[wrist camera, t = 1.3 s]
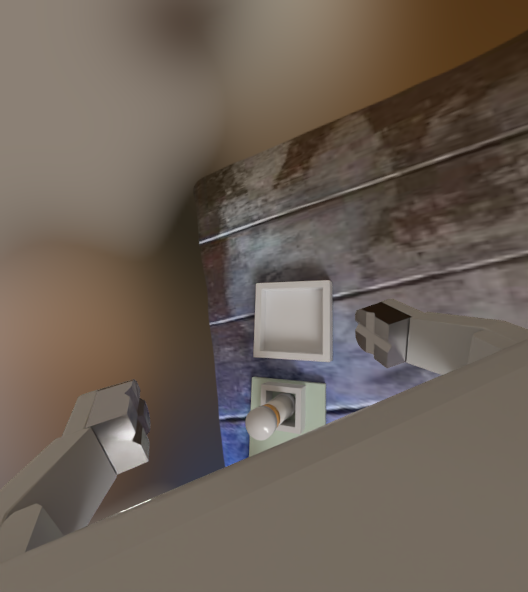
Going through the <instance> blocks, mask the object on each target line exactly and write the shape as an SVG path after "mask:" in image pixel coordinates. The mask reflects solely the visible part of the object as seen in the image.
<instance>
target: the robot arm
mask: <svg viewBox="0 0 528 592" xmlns="http://www.w3.org/2000/svg"><path fill="white" fill-rule="evenodd" d="M355 321H356V322H357V323H358V326H357V328H356V330H355V334H356V340H357V342H358V345H359V346H360V347H361V349H363V350H364V351H365V352H367V353H371V354H373V355H374V359H375V360H377V361H378V362H379V363H381V364H382V365H383V366H385V367H386V368H389V367H392V366H395V365H398V364H400V363H403V362H406V363H409V364H412V365H415V366H418V367H421V368H424V369H427V370H430V371H432V372H435V373H438V374H441V376H439V377H437V378H434V379H432V380H429V381H427V382H425V383H422V384H420V385H418V386H415V387H413V388H411V389H408V390H406V391H403V392H401V393H399V394H396V395H394V396H392V397H389V398H387V399H385V400H382V401H380V402H377V403H375V404H373V405H370V406H368V407H366V408H363V409H361V410H359V411H356V412H354V413H352V414H349V415H347V416H345V417H342V418H340V419H338V420H335V421H333V422H330V423H328V424H326V425H323V426H321V427H319V428H316V429H314V430H312V431H309V432H307V433H305V434H302V435H300V436H298V437H295V438H293V439H291V440H288V441H286V442H284V443H281V444H279V445H277V446H274V447H272V448H270V449H267V450H265V451H263V452H260V453H258V454H255V455H253V456H251V457H248V458H246V459H244V460H241V461H239V462H237V463H234V464H232V465H230V466H227V467H225V468H223V469H220V470H218V471H215V472H213V473H211V474H209V475H206V476H204V477H201V478H199V479H197V480H194V481H192V482H190V483H187V484H185V485H182V486H180V487H178V488H175V489H173V490H171V491H168V492H166V493H164V494H161V495H159V496H157V497H154V498H152V499H150V500H147V501H145V502H142V503H140V504H138V505H135V506H134V507H131V508H129V509H126V510H124V511H121V512H119V513H117V514H114V515H112V516H110V517H107V518H105V519H103V520H100V521H98V522H96V523H93V524H91V525H88V523H89V521H90V519H91V518H92V516H93V515H94V513H95V511H96V510H97V508H98V506H99V505H100V503H101V502H102V500H103V498H104V497H105V495H106V493H107V492H108V490H109V488H110V487H111V485H112V484H113V482H114V480H115V479H116V477H117V476H116V475H117V474H119V473H122V472H124V471H126V470H129V469H131V468H134V467H136V466H138V465H141V464H143V463H145V462H148V457H149V440H148V438H147V434H148V432H149V431H150V417H149V412H148V408H147V405H146V403H145V401H144V400H142V399H141V398H140V388H139V386H138V383H137V381H135V380H134V379H133V380H130V381H126V382H123V383H120V384H116V385H113V386H110V387H106V388H102V389H100V390H96V391H92V392H89V393H86V394H83V395H81V396H79V397H78V399H77V402H76V404H75V407H74V409H73V411H72V414H71V416H70V418H69V421H68V423H67V425H66V428H65V430H64V433H63V435H62V437H60V438H57V439H55V440H54V441H53V442H52V443H51V444H50V445H48V446H47V447H46V448H45V449H44V450H43V451H42V452H41V453H40V454H39V455H38V456H36V457H35V458H34V459H33V460H32V461H31V462H30V463H29V464H28V465H27V466H26V467H25V468H23V469H22V470H21V471H20V472H19V473H18V474H17V475H16V476H15V477H14V478H13V479H12V480H11V481H9V482H8V483H7V484H6V485H5V486H4V487H3V488H2V489H1V490H0V592H528V330H527V329H525V328H522V327H519V326H517V325H514V324H511V323H509V322H506V321H501V320H493V319H484V318H475V317H467V316H458V315H450V314H441V313H433V312H426V313H423V312H421V311H419V310H417V309H415V308H412V307H410V306H408V305H406V304H403V303H401V302H399V301H397V300H394V299H388V300H385V301H382V302H379V303H377V304H374V305H371V306H368V307H365V308H362V309H359V310H357V311H356V314H355ZM87 525H88V526H87Z"/></svg>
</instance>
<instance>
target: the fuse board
mask: <svg viewBox="0 0 528 592" xmlns="http://www.w3.org/2000/svg"><path fill="white" fill-rule="evenodd" d="M282 392H285V393H291V394H292V395H294V397H295V398H296V405H295V413H294V414H293V415H292V416H291V417H289V418H286V419H285V420H284V421H283V422H282V423H281V424H280V425H279V426H278V427H277V428H276V430H275V432H274V433H273V434H272V435H271V436H270V437H269V438H267V439H266V440H261V441H260V440H256V439H254V438H253V437H251V436H250V445H249V457H251V456H253V455H255V454H258V453H260V452H263V451H265V450H267V449H270V448H272V447H274V446H277V445H279V444H281V443H284V442H286V441H288V440H291V439H293V438H295V437H298V436H300V435H302V434H305V433H307V432H309V431H312V430H314V429H316V428H319V427H321V426H323V425H326V383H317V382H307V381H296V380H286V379H275V378H265V377H252V391H251V410H253V409H255V408H256V407H258V406H262V405H264V404H266V403H268V402H269V401H271V400H273V399H274V397H275V396H276V395H278V394H280V393H282Z"/></svg>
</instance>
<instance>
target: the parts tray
mask: <svg viewBox="0 0 528 592" xmlns="http://www.w3.org/2000/svg"><path fill="white" fill-rule="evenodd" d="M253 357H261V358H276V359H291V360H306V361H321V362H331V361H333V314H332V283H331V281H330V280H322V281H298V282H275V283H256V302H255V329H254V356H253Z"/></svg>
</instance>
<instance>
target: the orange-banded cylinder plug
mask: <svg viewBox="0 0 528 592" xmlns="http://www.w3.org/2000/svg"><path fill="white" fill-rule="evenodd" d="M295 405H296V398H295V397H294V395H292V394H291V393H285V392H282V393H280V394H278V395H276V396H275V397H274V399H273V400H271V401H269V402H268V403H266V404H264V405H262V406H258V407H256V408H255V409H253V410H251V411H250V412H249V413H248V415H247V417H246V429H247V431H248V433H249V434H250V436H251V437H253V438H254V439H256V440H260V441H261V440H266V439H267V438H269V437H270V436H271V435H272V434H273V433H274V432H275V430H276V428H277V427H278V426H279V425H280V424H281V423H282V422H283V421H284V420H285V419H286V418H289V417H291V416H292V415H293V414H294V413H295Z"/></svg>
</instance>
